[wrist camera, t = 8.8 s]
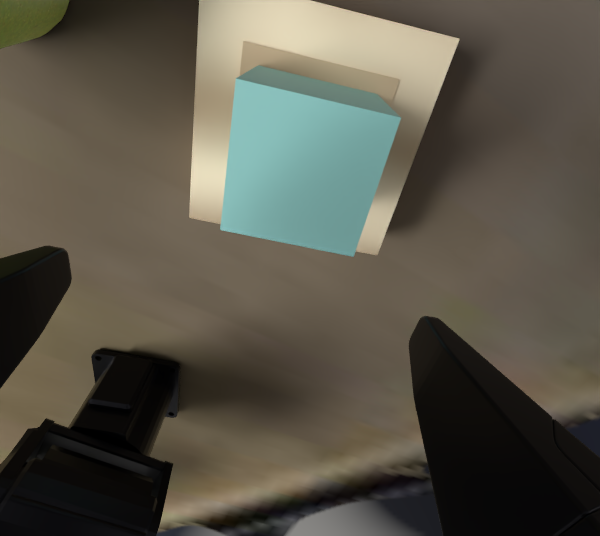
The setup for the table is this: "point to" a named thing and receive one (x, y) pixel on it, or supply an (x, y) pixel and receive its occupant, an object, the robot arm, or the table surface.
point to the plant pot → (28, 19)
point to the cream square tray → (318, 65)
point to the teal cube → (304, 159)
